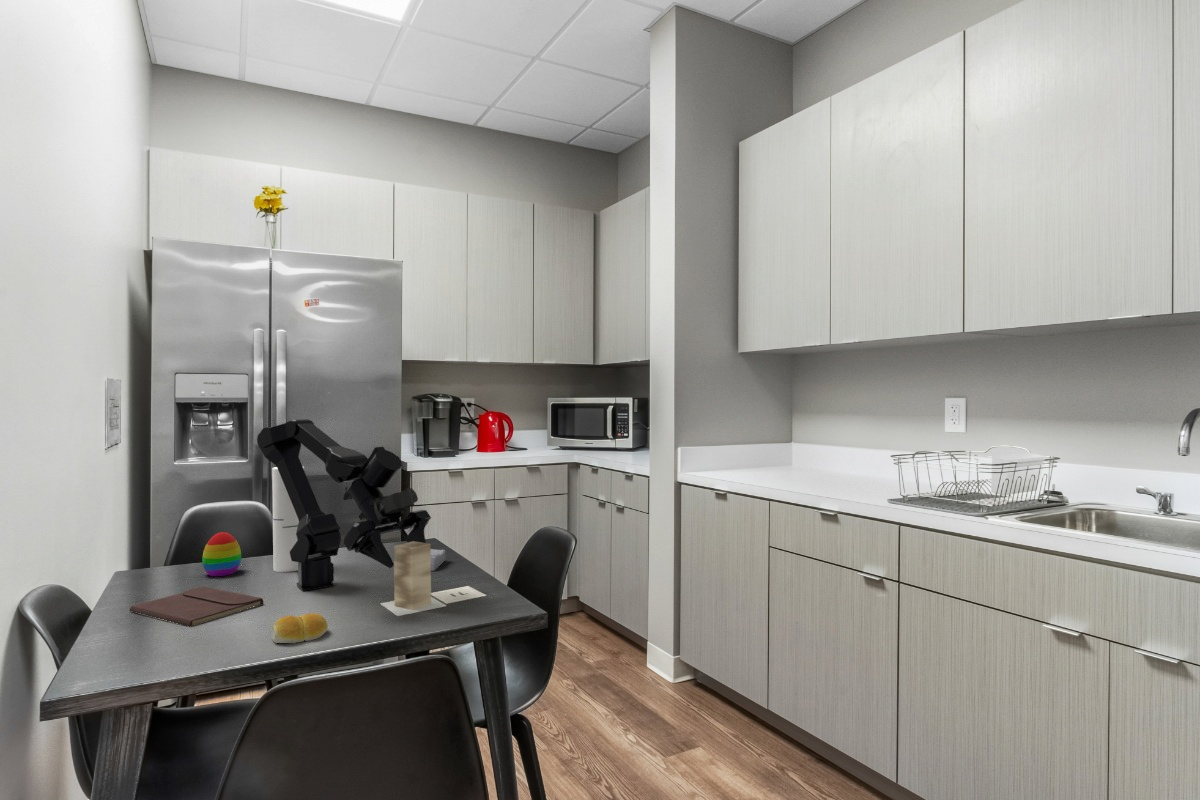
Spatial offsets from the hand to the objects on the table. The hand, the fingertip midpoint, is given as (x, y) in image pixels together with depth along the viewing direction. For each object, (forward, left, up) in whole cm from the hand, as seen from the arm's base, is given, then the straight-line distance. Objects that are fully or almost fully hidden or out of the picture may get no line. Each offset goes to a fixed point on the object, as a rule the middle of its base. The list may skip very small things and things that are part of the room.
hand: (409, 561), depth 134 cm
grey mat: (0, -1, -9) cm, 9 cm away
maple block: (0, -1, -9) cm, 9 cm away
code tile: (+10, 0, -9) cm, 14 cm away
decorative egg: (-27, +53, -9) cm, 60 cm away
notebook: (-34, +25, -10) cm, 44 cm away
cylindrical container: (-13, +48, -9) cm, 51 cm away
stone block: (+14, +29, -9) cm, 34 cm away
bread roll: (-22, -5, -9) cm, 24 cm away
